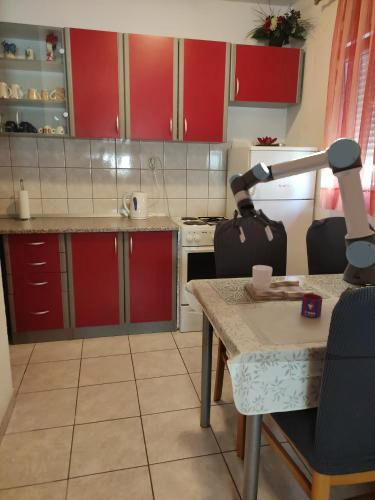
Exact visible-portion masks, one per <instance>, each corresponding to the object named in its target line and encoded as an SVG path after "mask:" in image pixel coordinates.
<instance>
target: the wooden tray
mask: <svg viewBox="0 0 375 500" xmlns="http://www.w3.org/2000/svg"><path fill="white" fill-rule="evenodd" d="M243 286H244V288H245V289H246V291H247V292H248V293H249V294H250V296H251V297H252V298H253V300H254V301H282V300H283V301H287V300H288V301H289V300H294V301H295V300H302V297H303V295H304V294H311V293H314V291H312V290H311V291H309V290H308V291H307V290H305V289H304V288H303V287H302V286H301V285H300V280H298V279H297V280H296V279H295V280H293V279H292V280H272V281H271V283H270V289H269V291H255V289H254V288H253V281H251V282H250V281H249V282H245V284H244V285H243Z"/></svg>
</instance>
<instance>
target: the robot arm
mask: <svg viewBox="0 0 375 500" xmlns="http://www.w3.org/2000/svg"><path fill="white" fill-rule="evenodd" d="M361 155H362V148H361V145H360V144H359V143H358V142H357V141H356V140H355V139H353V138H350V137H340V138H338V139H336V140H335V141H333V142H332V143H331V144H330V146H329V147H326V149H325V150H323V151H319V152H317V153H312V154H309V155H305V156H300V157H297V158H294V159H290V160H285V161H282V162H277V163H275V164H272V165H267V166H266V165H265V164H264V163H263V162H259V163H257V164H256V165H254V166H252V167H251V168H250V169H248V170H247V171H246V172H245V173H243V174H241V173H236V174H235V175H234V174H233V175H231V176H230V178H229V180H228V183H229V186H230V190H231V192H232V195H233V199H234V201H235V204H236V207H237V209H234V211H233V212H232V214H233V218H232V219H233V220H232V222H231V226H230V228H231V229H232V230H234V231H235V232H236V234H237V236H239V239H240V241H241V243H245V241H246V237H245V234H244V231H243V228H242V226H241V225H242V223H243V222H244V220H246V221H247V220H248V221H249V220H251V221H252V220H253V221H255V222H257V223H258V224H260V225H261V226H263V227H264V230H265V233H266V235H267V239H268V242H269V241H270V242H271V241H272V240H273V238H274V237H273V230H272V227H273V225H274V222H273V221H272V220H271V219H270V218H269V217H268V216H267V215H266V214H265V213H264V212H263V210H262V208H259V209H256V208H255V204H254V202H253V198H252V197H251V194H250V192H249V191H250V189H252V188H253V187H255V186H256V185H258V184H262V183H263V184H264V183H265V184H267V183H270V182H272V181H276V180H280V179H285V178H288V177H293V176H299V175H301V174H306V173H309V172H310V173H311V172H313V171H314V172H315V171H318V170H319V171H320V170H323V169H328V168H329V170H331V173H332V175H333V176H334V177H336V179H337V182H338V189H339V193H340V199H341V204H342V209H343V215H344V219H345V225H346V231H347V233H346V235H345V236H344V242H345V247H346V251H345V252H346V253H345V256H346V259H347V261H348V264H347V266H346V268H345V270H344V272H343V273H342V274H343V275H342V276H343V277H342V280H344V281H345V282H347V283H351V284H354V285H359V284H375V231H373V230H372V229H371V228H370V222H369V219H368V218H369V217H368V212H367V207H366V202H365V201H366V200H365V196H364V189H363V185H362V180H361V178H362V177H361V173H360V172H361V171H362V169H363V161H362V156H361ZM239 216H241V218H240V219H239V221H238V223H237V219H238V217H239ZM236 223H237V224H236Z"/></svg>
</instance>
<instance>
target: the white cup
mask: <svg viewBox="0 0 375 500" xmlns="http://www.w3.org/2000/svg"><path fill="white" fill-rule="evenodd" d="M272 274H273V267H272V266H269V265H263V264H257V265H253V266H252V282H253V288H254V289H255V291H269V289H270V283H271V282H272Z"/></svg>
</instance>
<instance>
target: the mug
mask: <svg viewBox="0 0 375 500" xmlns="http://www.w3.org/2000/svg"><path fill="white" fill-rule="evenodd" d="M322 306H323V296H321V295H319V294H317V293H314V292H313V293H311V294H304V295H303V297H302V299H301V309H300V311H301V312H300V313H301V316H303V317H305V318H308V319H319V318H321V315H322Z"/></svg>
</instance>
